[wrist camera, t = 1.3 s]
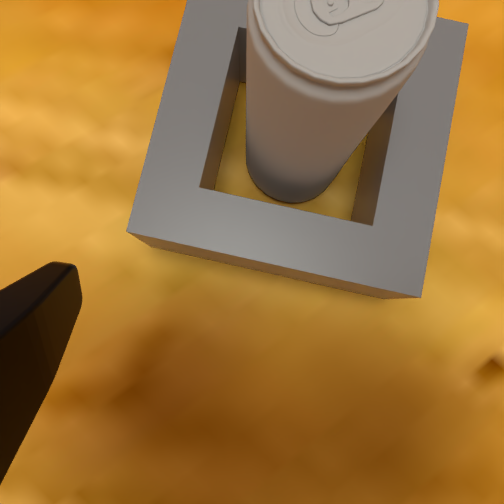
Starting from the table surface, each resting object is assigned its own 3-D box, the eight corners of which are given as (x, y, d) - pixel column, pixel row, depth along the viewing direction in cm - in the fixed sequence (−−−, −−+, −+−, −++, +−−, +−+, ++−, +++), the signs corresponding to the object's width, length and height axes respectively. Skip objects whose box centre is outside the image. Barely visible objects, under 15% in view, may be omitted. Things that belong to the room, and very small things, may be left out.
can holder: (424, 78, 23) (468, 23, 18) (384, 299, 21) (420, 297, 17) (206, 30, 23) (196, -36, 19) (150, 246, 22) (126, 231, 17)
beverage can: (230, 137, 22) (215, -54, 10) (314, 102, 23) (390, -122, 11) (268, 220, 22) (297, 119, 10) (353, 183, 22) (479, 42, 10)
